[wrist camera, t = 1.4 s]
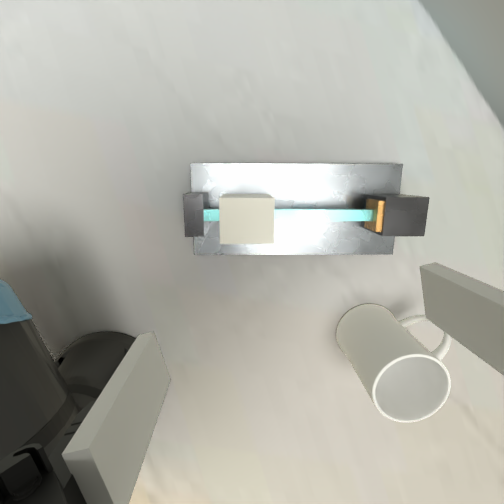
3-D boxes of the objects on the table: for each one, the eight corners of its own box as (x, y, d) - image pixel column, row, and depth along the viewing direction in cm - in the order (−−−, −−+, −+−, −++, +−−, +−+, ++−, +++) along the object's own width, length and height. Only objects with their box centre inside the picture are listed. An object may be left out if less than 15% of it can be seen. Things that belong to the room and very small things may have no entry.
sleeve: (224, 230, 36) (219, 243, 29) (224, 193, 35) (218, 198, 28) (268, 230, 36) (273, 243, 29) (268, 194, 35) (274, 198, 28)
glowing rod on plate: (195, 252, 40) (184, 269, 32) (192, 163, 37) (179, 160, 30) (388, 252, 40) (419, 268, 33) (398, 164, 38) (434, 161, 30)
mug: (398, 278, 41) (460, 318, 29) (428, 325, 43) (497, 381, 31) (324, 325, 42) (354, 381, 31) (355, 369, 44) (395, 438, 33)
